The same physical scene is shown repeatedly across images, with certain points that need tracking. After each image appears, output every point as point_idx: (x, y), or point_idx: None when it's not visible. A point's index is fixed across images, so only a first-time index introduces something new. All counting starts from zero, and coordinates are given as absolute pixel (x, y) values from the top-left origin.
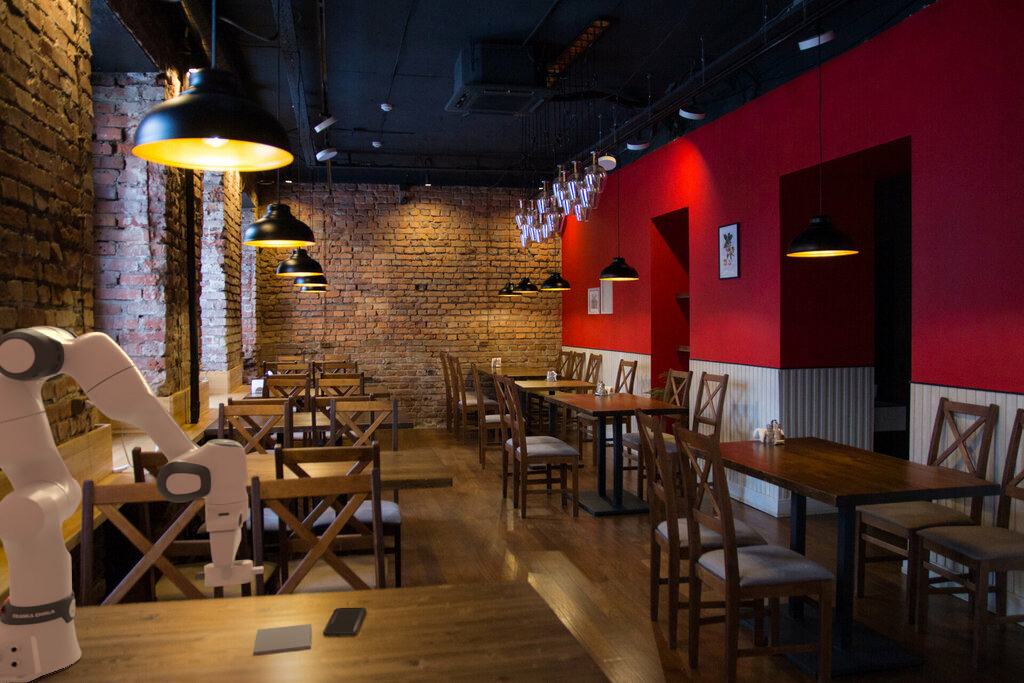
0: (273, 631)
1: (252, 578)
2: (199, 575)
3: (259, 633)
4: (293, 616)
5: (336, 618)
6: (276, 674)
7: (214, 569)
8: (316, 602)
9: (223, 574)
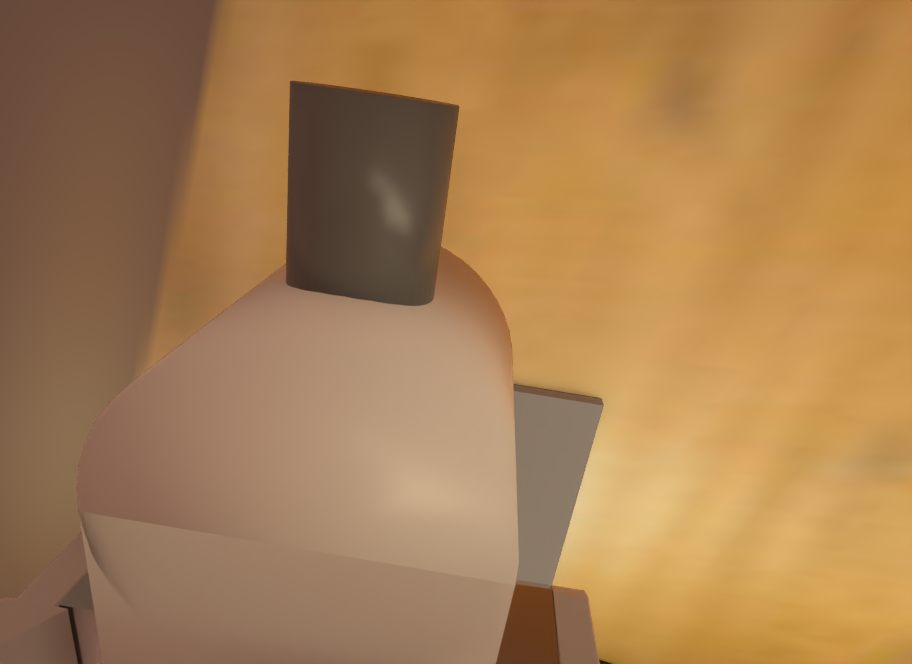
0: (542, 464)
1: None
2: (291, 181)
3: (549, 408)
4: (706, 551)
5: None
6: None
7: (105, 520)
8: (814, 649)
9: (47, 579)
